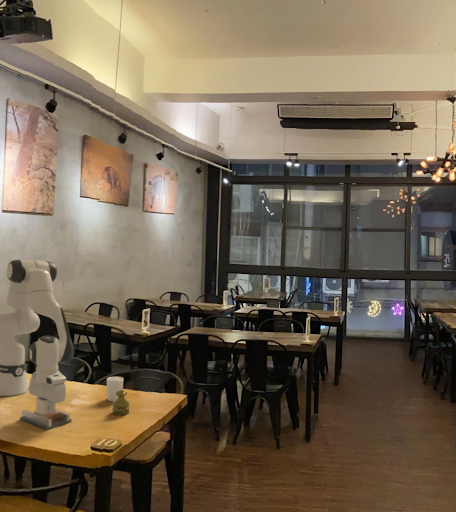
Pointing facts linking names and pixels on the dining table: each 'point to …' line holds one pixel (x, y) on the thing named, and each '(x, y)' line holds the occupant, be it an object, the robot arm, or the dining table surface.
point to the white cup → (114, 387)
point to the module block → (43, 407)
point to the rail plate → (46, 419)
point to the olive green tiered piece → (120, 404)
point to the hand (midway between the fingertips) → (45, 408)
